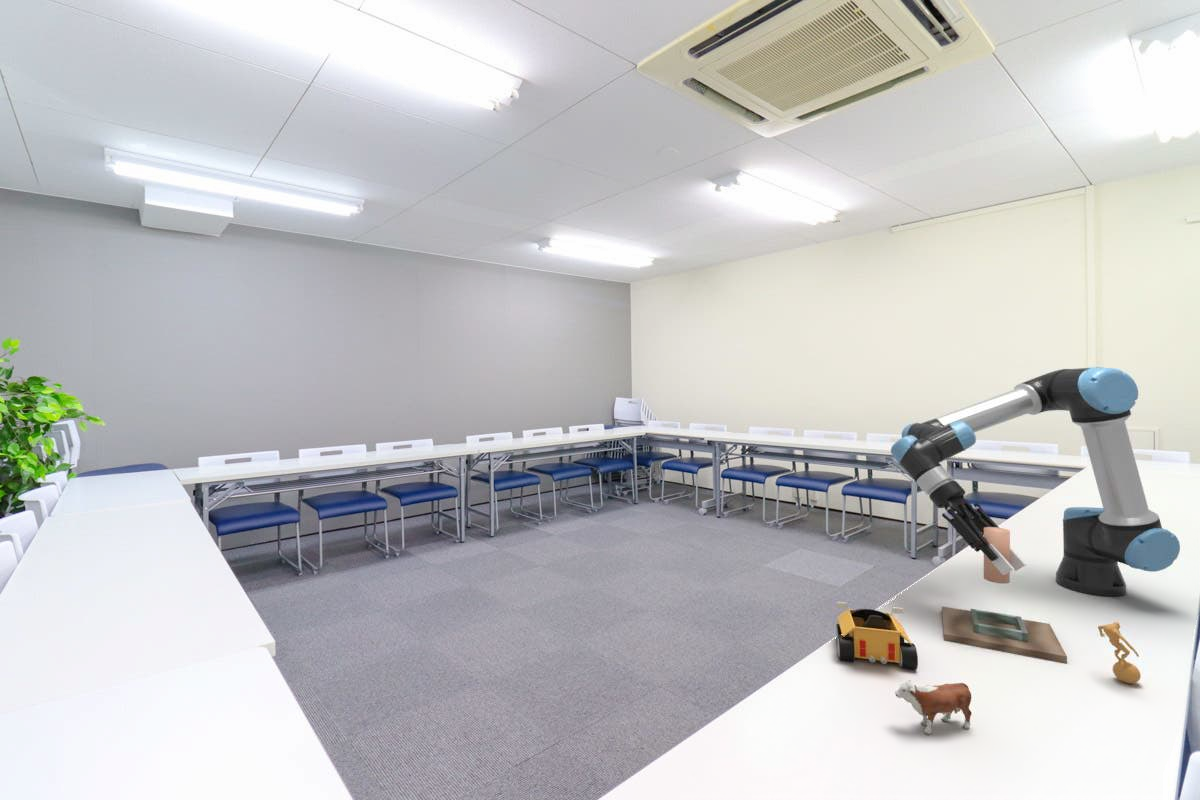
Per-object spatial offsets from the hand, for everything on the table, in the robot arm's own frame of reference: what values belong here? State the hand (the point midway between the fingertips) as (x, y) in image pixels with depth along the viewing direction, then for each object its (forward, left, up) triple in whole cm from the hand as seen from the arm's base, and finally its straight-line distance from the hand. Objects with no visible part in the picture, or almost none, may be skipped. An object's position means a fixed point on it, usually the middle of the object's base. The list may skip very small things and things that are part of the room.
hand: (1014, 569), depth 124 cm
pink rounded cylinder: (+3, -2, -3) cm, 5 cm away
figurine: (-15, +12, -17) cm, 26 cm away
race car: (+28, +23, -17) cm, 40 cm away
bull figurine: (+17, +46, -17) cm, 51 cm away
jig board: (+3, -1, -17) cm, 17 cm away
